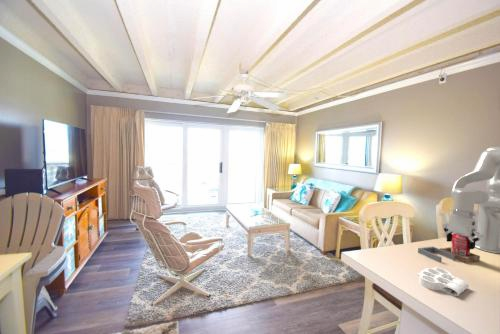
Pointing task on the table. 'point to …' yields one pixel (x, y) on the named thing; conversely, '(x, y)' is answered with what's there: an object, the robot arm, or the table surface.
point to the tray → (469, 258)
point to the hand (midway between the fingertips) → (459, 244)
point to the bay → (427, 251)
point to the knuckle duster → (441, 281)
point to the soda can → (460, 245)
